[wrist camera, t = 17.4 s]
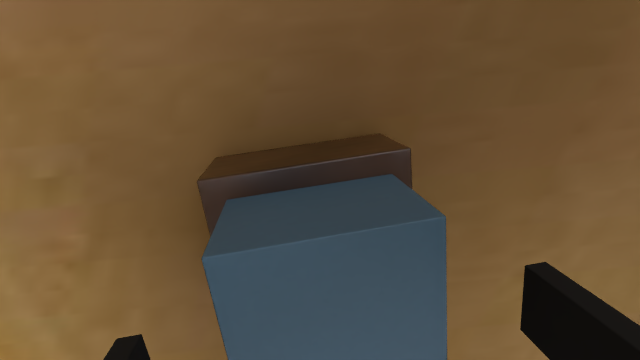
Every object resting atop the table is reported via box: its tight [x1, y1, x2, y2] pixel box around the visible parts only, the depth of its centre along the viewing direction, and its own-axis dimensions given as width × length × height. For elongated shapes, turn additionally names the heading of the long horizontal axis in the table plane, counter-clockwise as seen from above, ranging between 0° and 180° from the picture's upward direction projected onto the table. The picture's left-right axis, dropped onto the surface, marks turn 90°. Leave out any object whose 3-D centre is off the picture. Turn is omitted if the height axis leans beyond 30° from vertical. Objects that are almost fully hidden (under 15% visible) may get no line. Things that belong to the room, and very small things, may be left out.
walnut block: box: [197, 134, 412, 237], centre depth 18 cm, size 10×10×4 cm
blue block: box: [202, 174, 447, 360], centre depth 13 cm, size 8×8×5 cm
